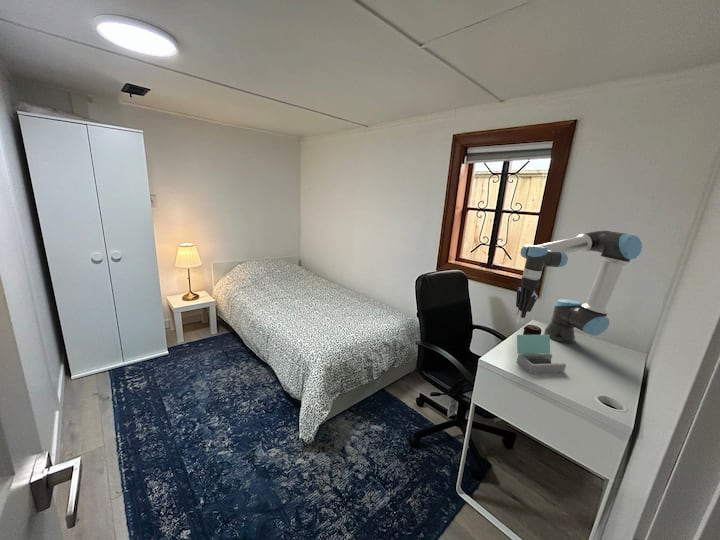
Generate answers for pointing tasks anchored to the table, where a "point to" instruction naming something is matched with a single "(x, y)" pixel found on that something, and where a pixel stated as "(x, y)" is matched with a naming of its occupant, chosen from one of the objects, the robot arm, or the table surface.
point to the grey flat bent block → (539, 368)
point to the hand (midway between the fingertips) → (519, 322)
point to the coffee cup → (532, 330)
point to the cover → (533, 344)
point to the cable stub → (540, 361)
